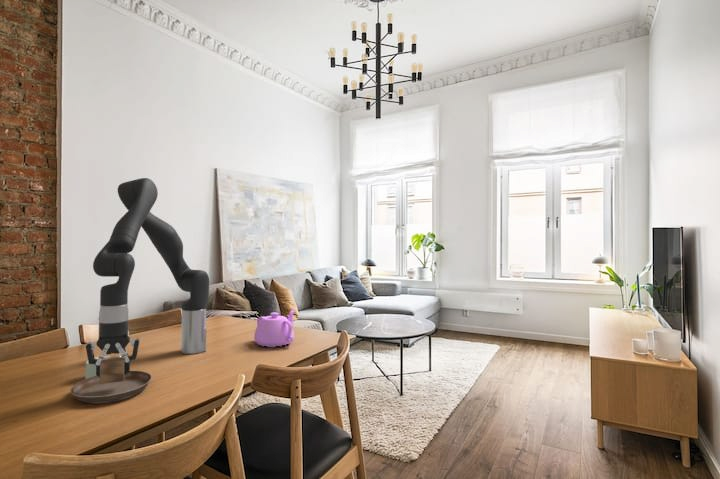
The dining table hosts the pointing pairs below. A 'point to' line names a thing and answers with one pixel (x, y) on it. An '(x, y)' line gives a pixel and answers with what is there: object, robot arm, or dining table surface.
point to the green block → (91, 369)
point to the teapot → (274, 330)
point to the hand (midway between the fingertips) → (113, 375)
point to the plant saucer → (110, 388)
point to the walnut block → (112, 369)
